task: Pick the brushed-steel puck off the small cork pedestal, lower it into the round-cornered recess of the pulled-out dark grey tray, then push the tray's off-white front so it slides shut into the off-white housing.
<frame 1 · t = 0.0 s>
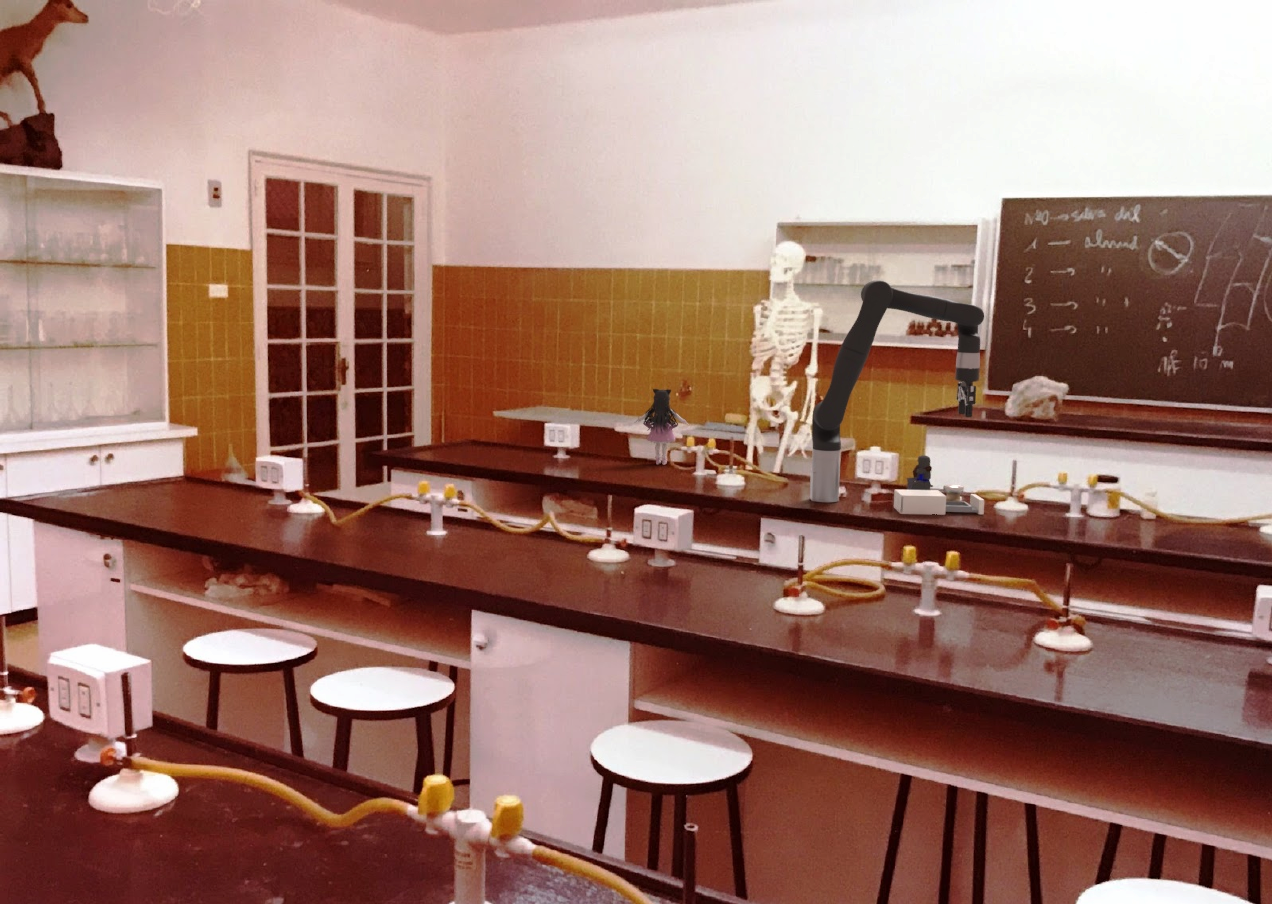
hand: (964, 415, 375), 29 cm above the counter, tool pointing down, fingers open, 8 cm apart
figurine: (660, 464, 454), on the counter
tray: (954, 503, 364), point 3 cm above the counter, slide at 9.0 cm
toy: (916, 499, 386), on the counter
puck: (953, 491, 373), point 5 cm above the counter, touching pedestal
housing: (919, 510, 364), on the counter
pedestal: (952, 506, 373), on the counter
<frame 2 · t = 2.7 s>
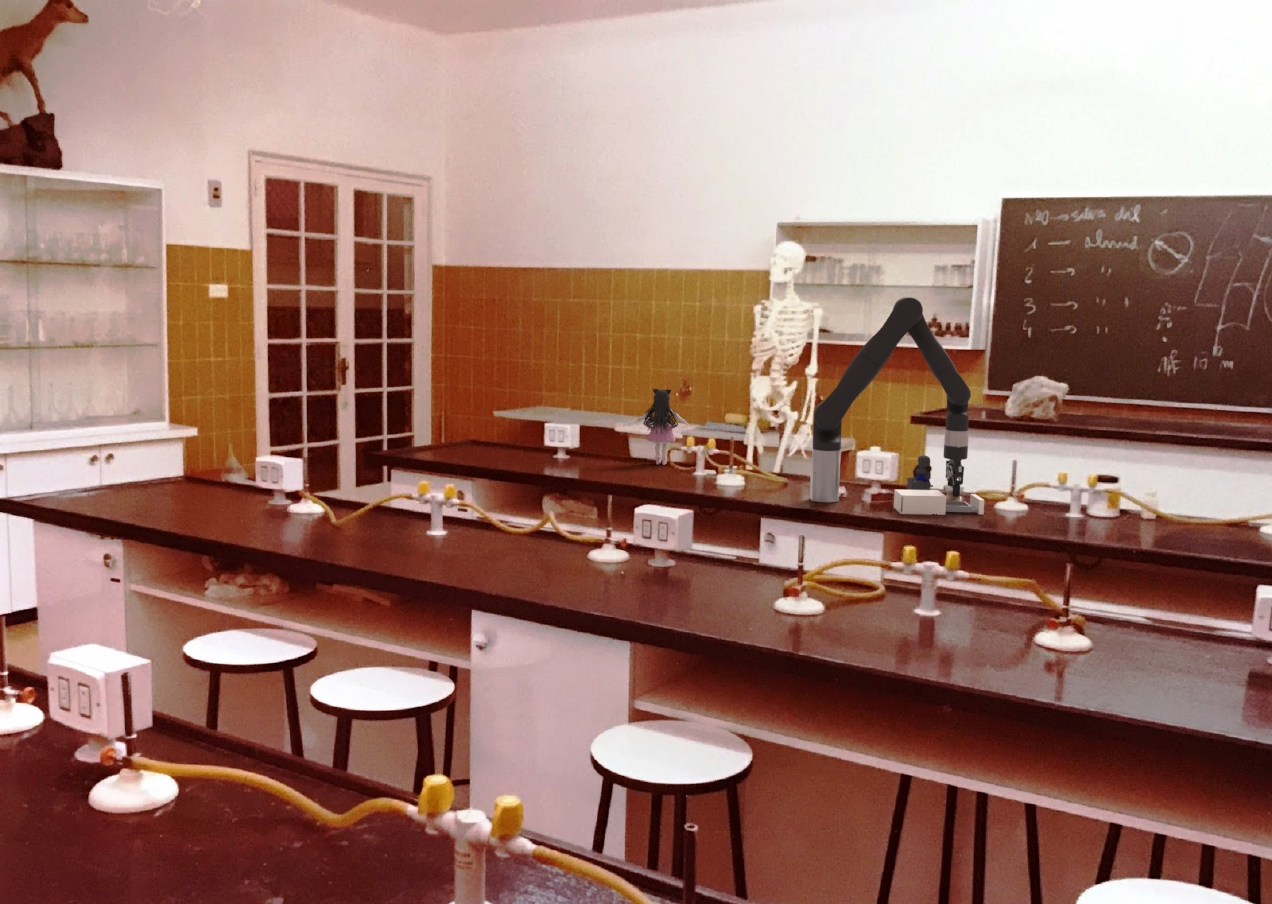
hand: (953, 494, 373), 4 cm above the counter, tool pointing down, fingers closed on puck, 6 cm apart
puck: (953, 491, 373), point 5 cm above the counter, touching gripper, pedestal
everything else where it was.
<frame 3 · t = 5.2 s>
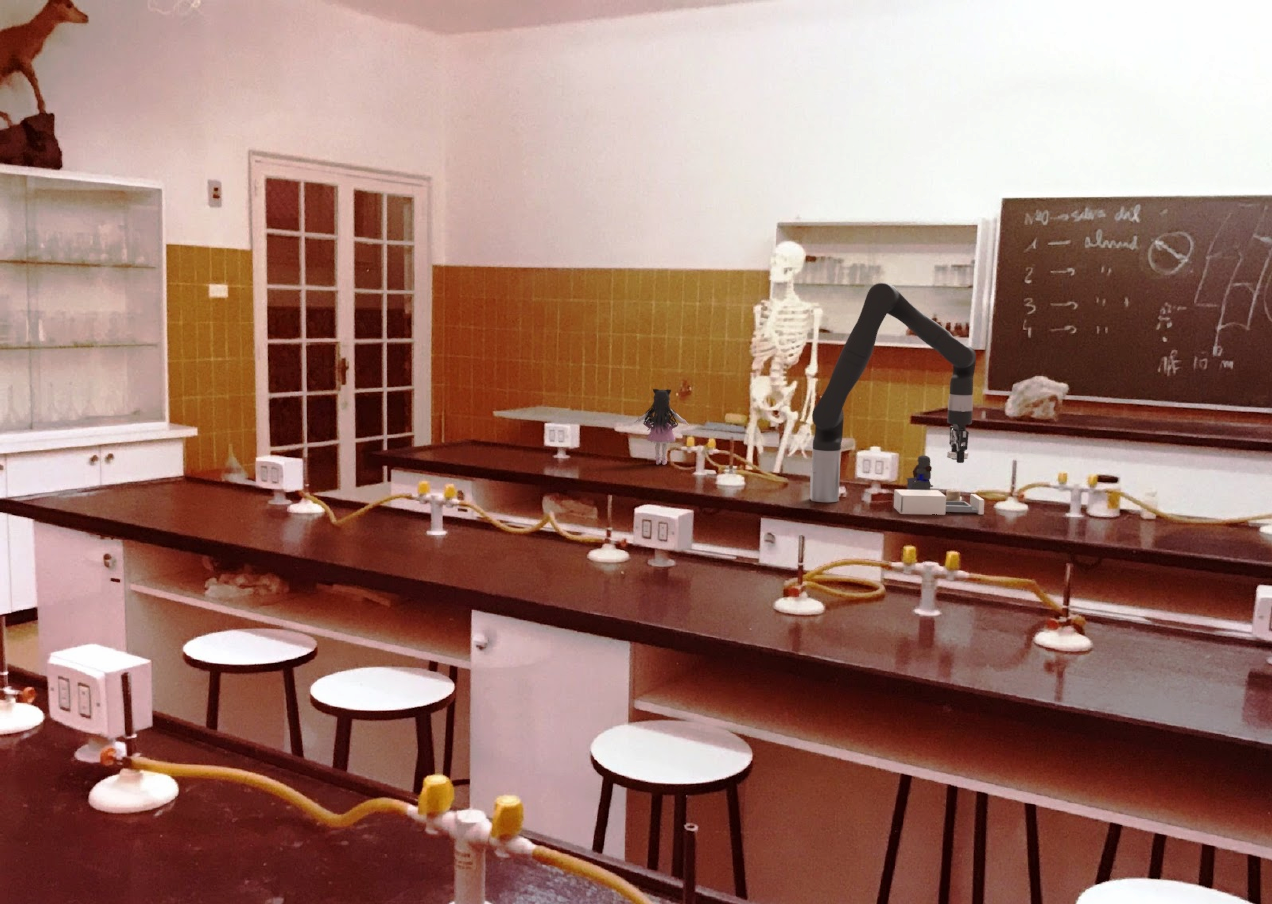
hand: (957, 460, 362), 16 cm above the counter, tool pointing down, fingers closed on puck, 6 cm apart
puck: (957, 457, 362), point 17 cm above the counter, touching gripper
everything else where it was.
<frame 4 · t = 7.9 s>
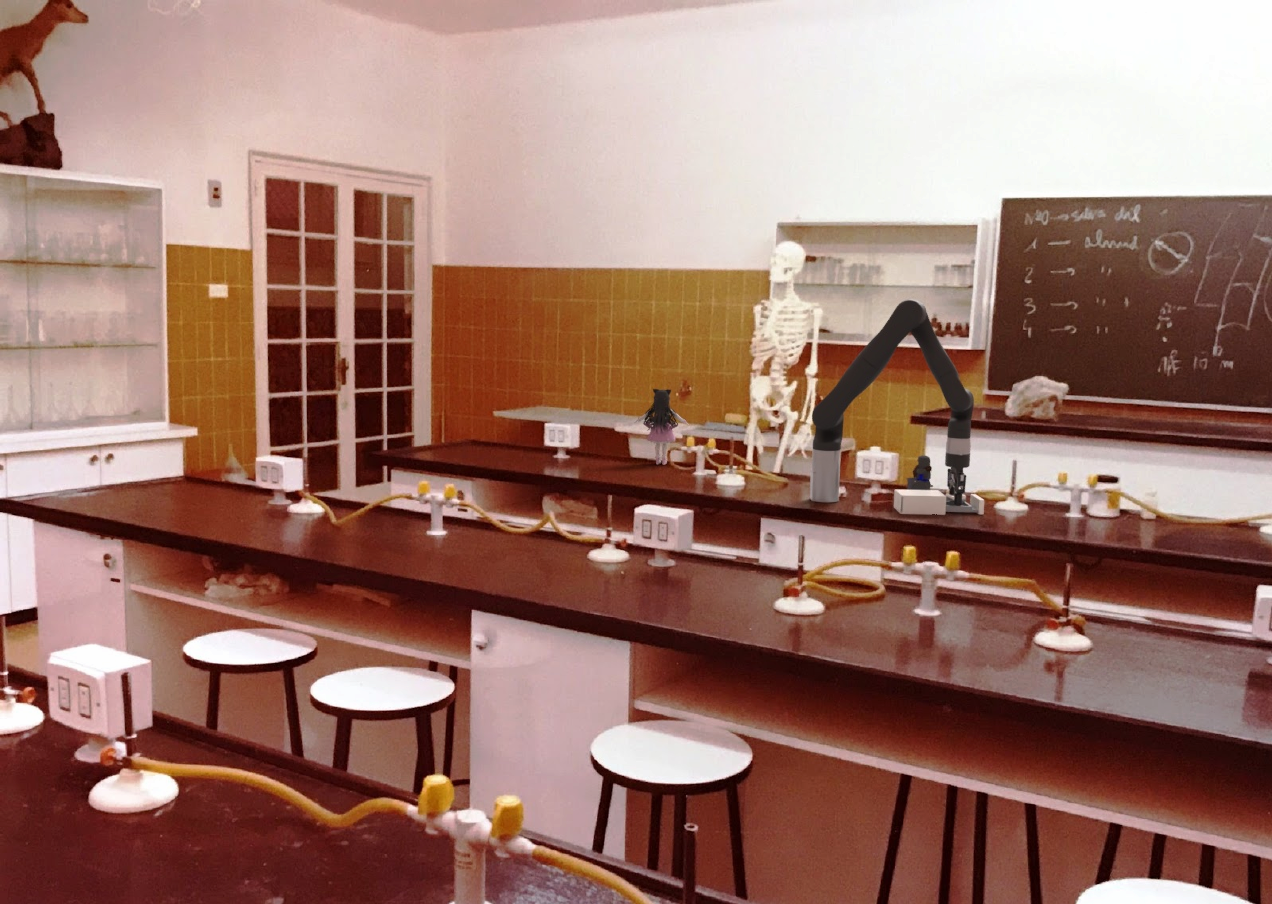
hand: (955, 503, 364), 3 cm above the counter, tool pointing down, fingers closed on puck, 6 cm apart
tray: (954, 503, 364), point 3 cm above the counter, slide at 9.0 cm, touching gripper
puck: (955, 500, 364), point 4 cm above the counter, touching gripper
everything else where it was.
when the fingers open (3 cm above the counter, at t = 8.1 s): puck drops 2 cm, resting on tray.
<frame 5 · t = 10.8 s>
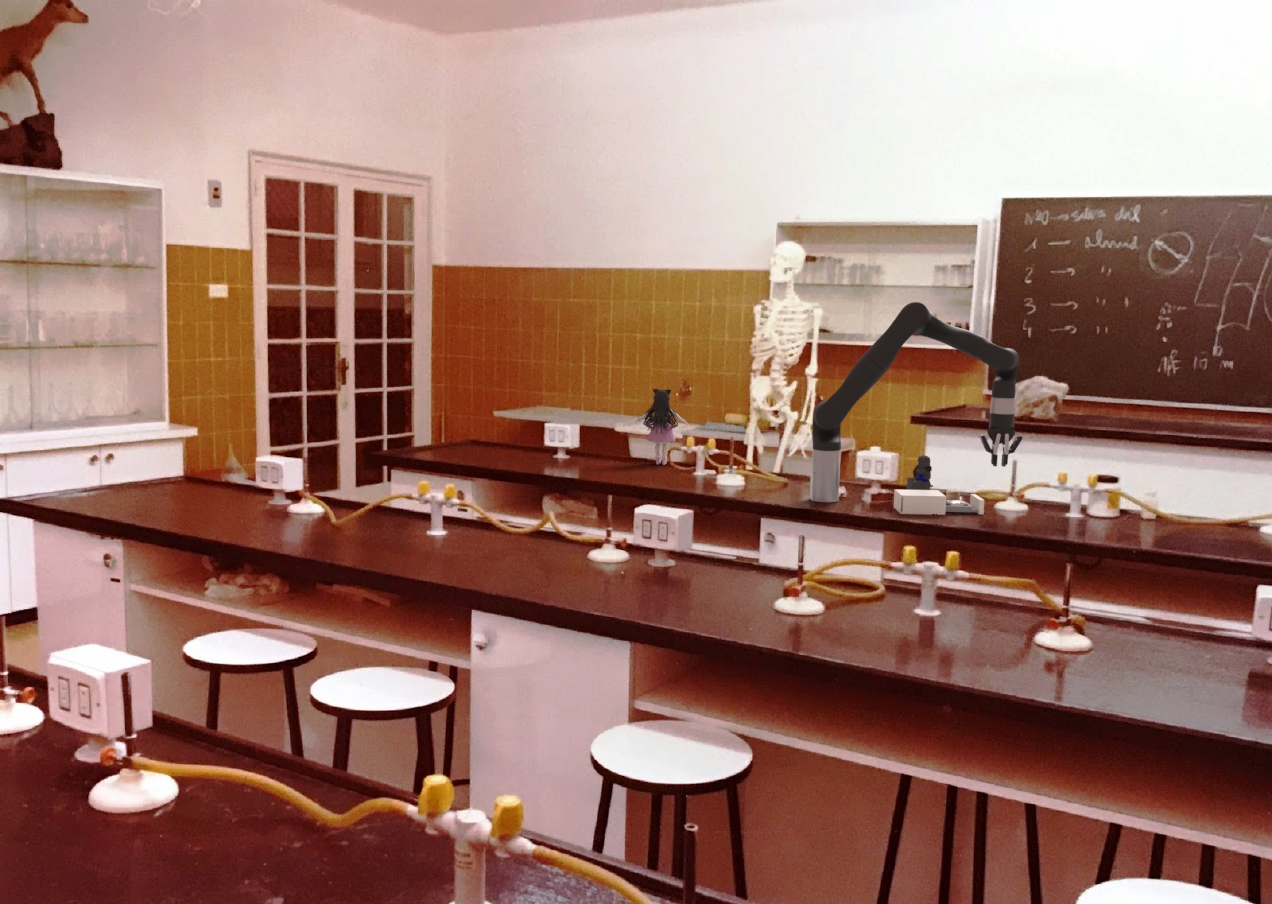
hand: (999, 465, 362), 15 cm above the counter, tool pointing down, fingers closed
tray: (954, 503, 364), point 3 cm above the counter, slide at 9.0 cm, touching puck
puck: (954, 506, 364), point 2 cm above the counter, touching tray
everything else where it was.
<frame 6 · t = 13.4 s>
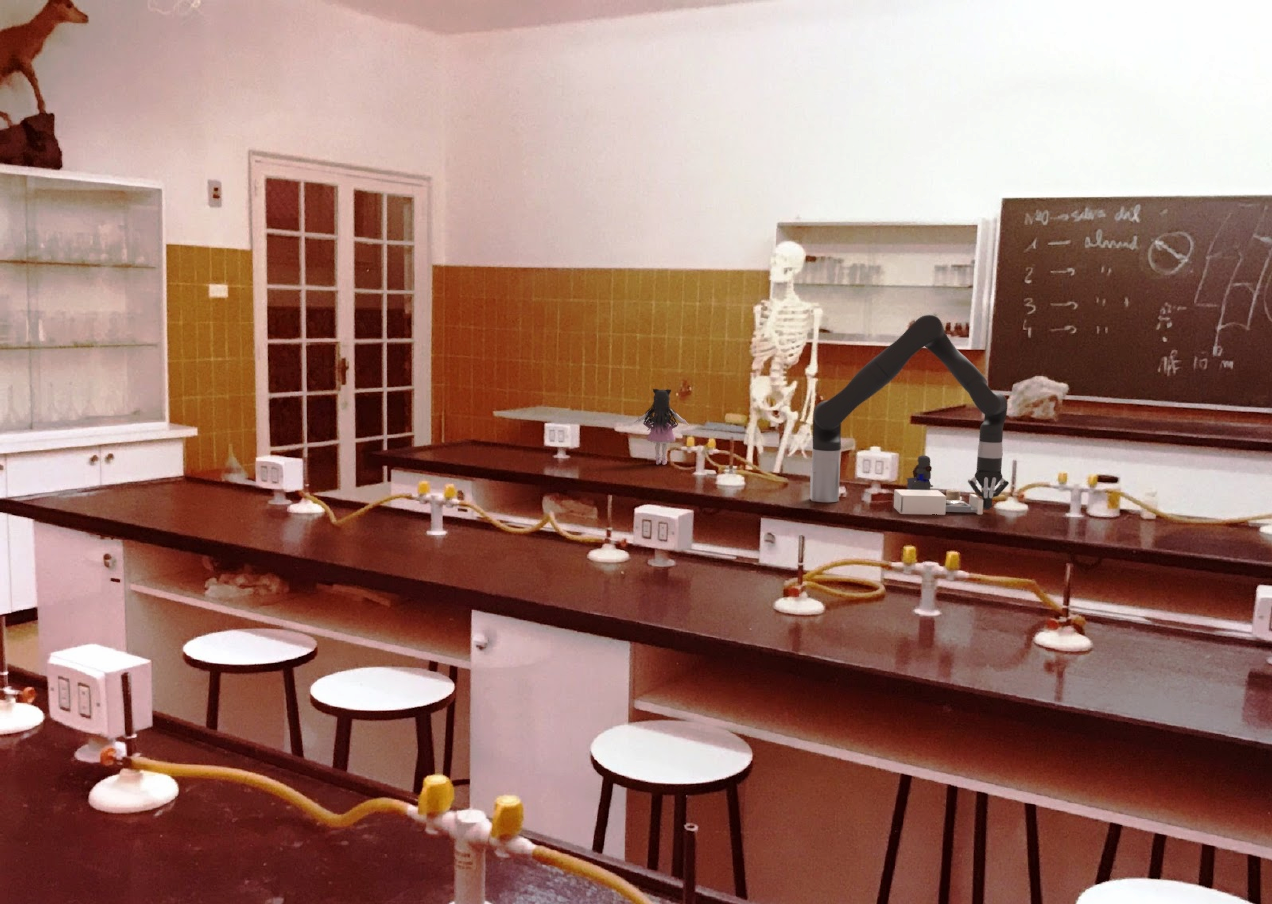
hand: (986, 509, 364), 1 cm above the counter, tool pointing down, fingers closed
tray: (953, 503, 364), point 3 cm above the counter, slide at 8.7 cm, touching gripper, puck
everything else where it was.
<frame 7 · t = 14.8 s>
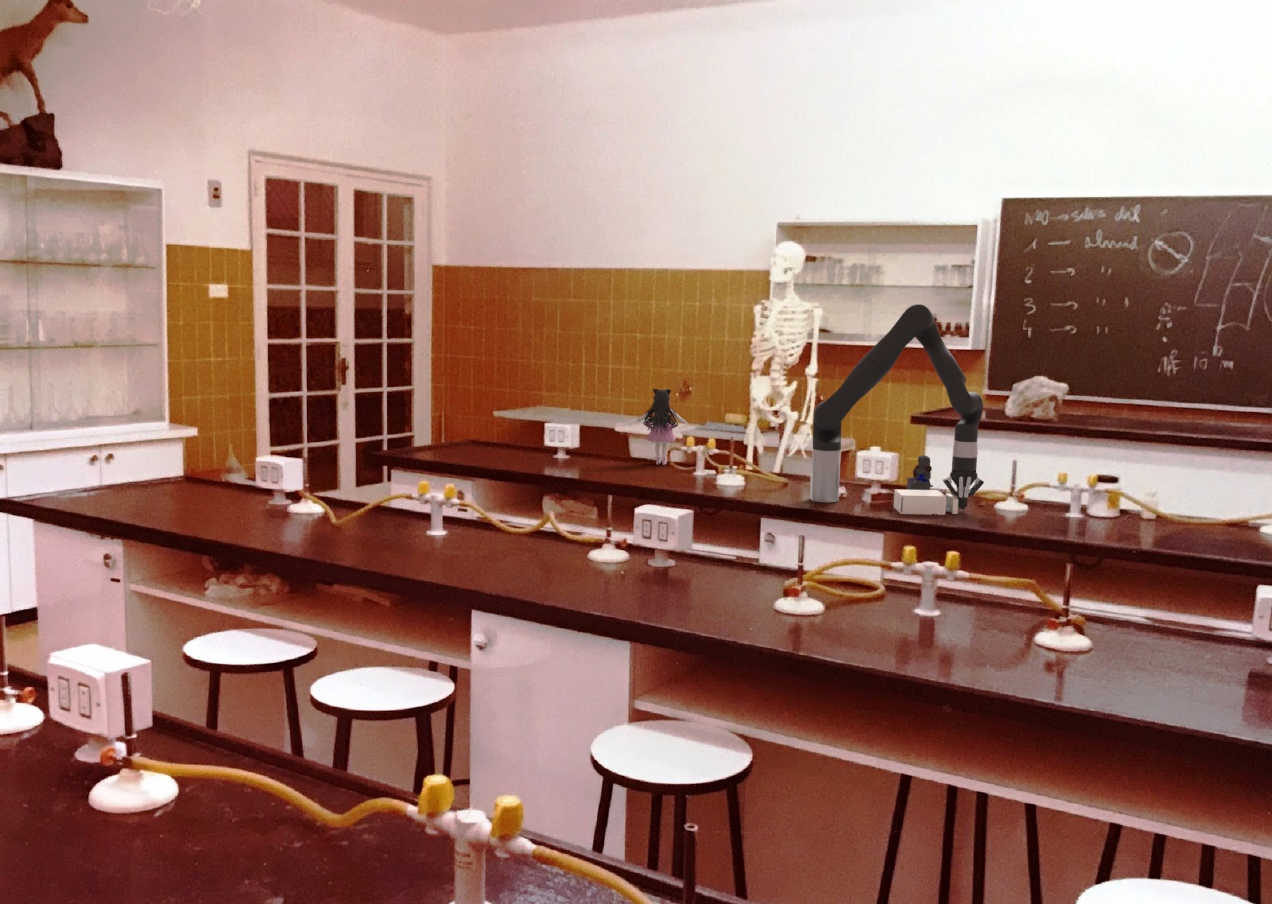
hand: (961, 508, 364), 1 cm above the counter, tool pointing down, fingers closed
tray: (928, 503, 364), point 3 cm above the counter, slide at 0.8 cm, touching gripper, puck
puck: (929, 506, 364), point 2 cm above the counter, touching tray
everything else where it was.
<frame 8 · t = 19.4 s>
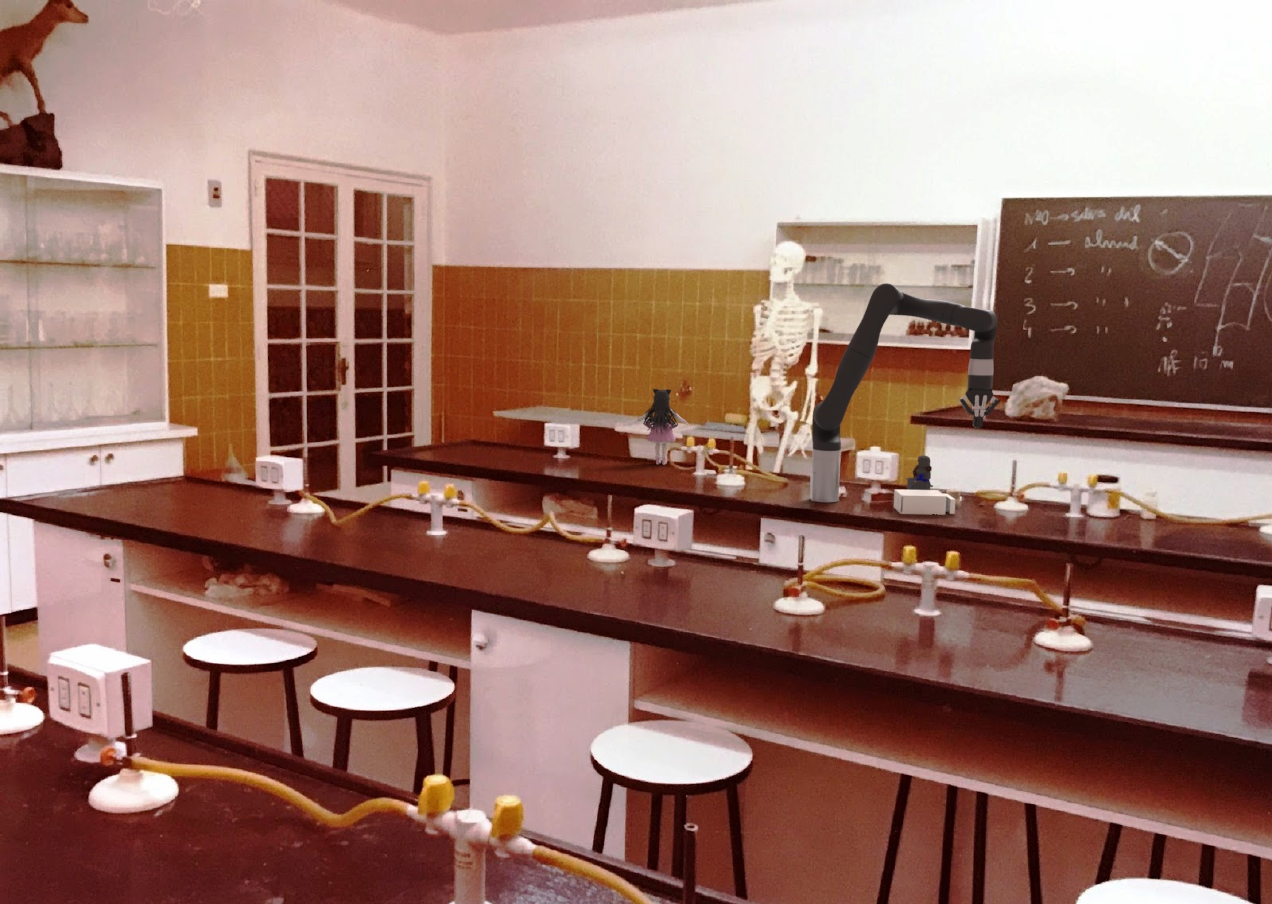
hand: (977, 428, 360), 27 cm above the counter, tool pointing down, fingers closed
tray: (925, 503, 364), point 3 cm above the counter, slide at 0.0 cm, touching puck
everything else where it was.
at the end: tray slide at 0.0 cm; puck inside the target area (1.3 cm from its centre), point 1.6 cm above the counter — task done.
